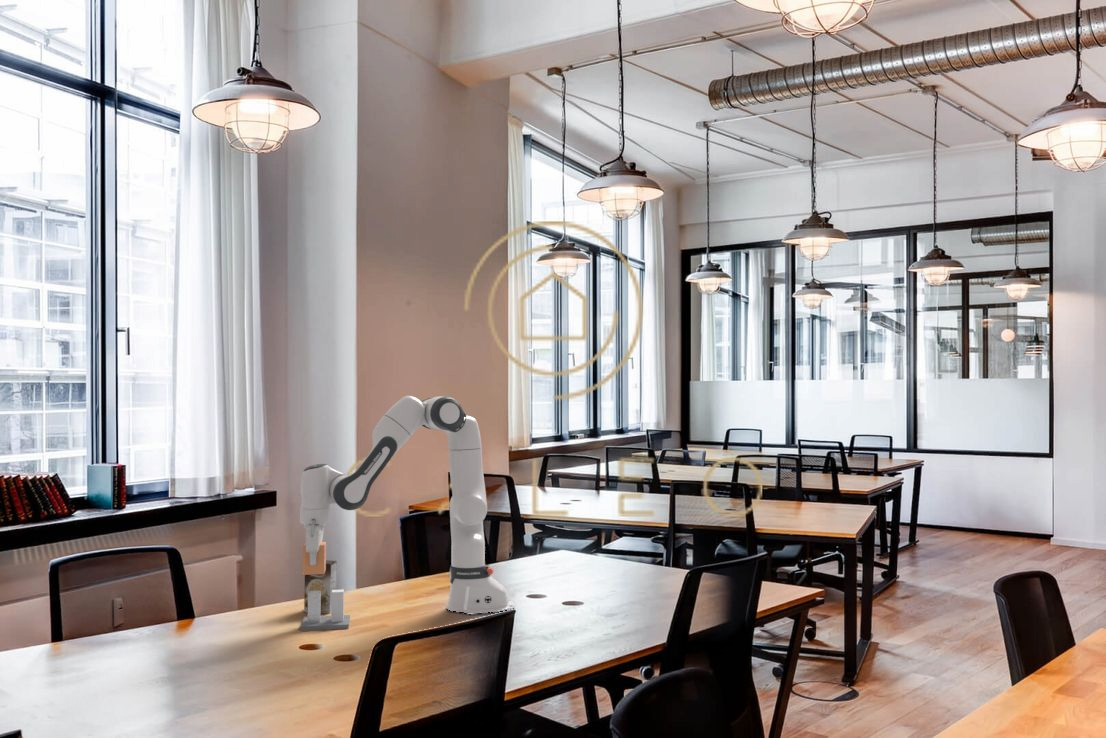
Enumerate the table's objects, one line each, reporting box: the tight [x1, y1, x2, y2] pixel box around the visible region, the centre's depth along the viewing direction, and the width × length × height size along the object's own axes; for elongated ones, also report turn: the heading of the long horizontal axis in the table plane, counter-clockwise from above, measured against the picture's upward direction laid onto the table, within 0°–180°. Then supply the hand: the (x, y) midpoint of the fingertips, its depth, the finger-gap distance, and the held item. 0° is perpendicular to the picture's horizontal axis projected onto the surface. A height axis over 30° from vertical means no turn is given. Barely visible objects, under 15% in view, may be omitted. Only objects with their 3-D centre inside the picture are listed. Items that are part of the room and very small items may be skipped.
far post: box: [307, 590, 322, 623], centre depth 275 cm, size 4×4×10 cm
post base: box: [300, 588, 351, 632], centre depth 276 cm, size 14×12×10 cm
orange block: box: [302, 541, 327, 576], centre depth 276 cm, size 6×6×9 cm
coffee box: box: [303, 559, 338, 614], centre depth 294 cm, size 9×6×16 cm
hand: (314, 562), depth 276 cm, fingers closed on orange block, 6 cm apart
